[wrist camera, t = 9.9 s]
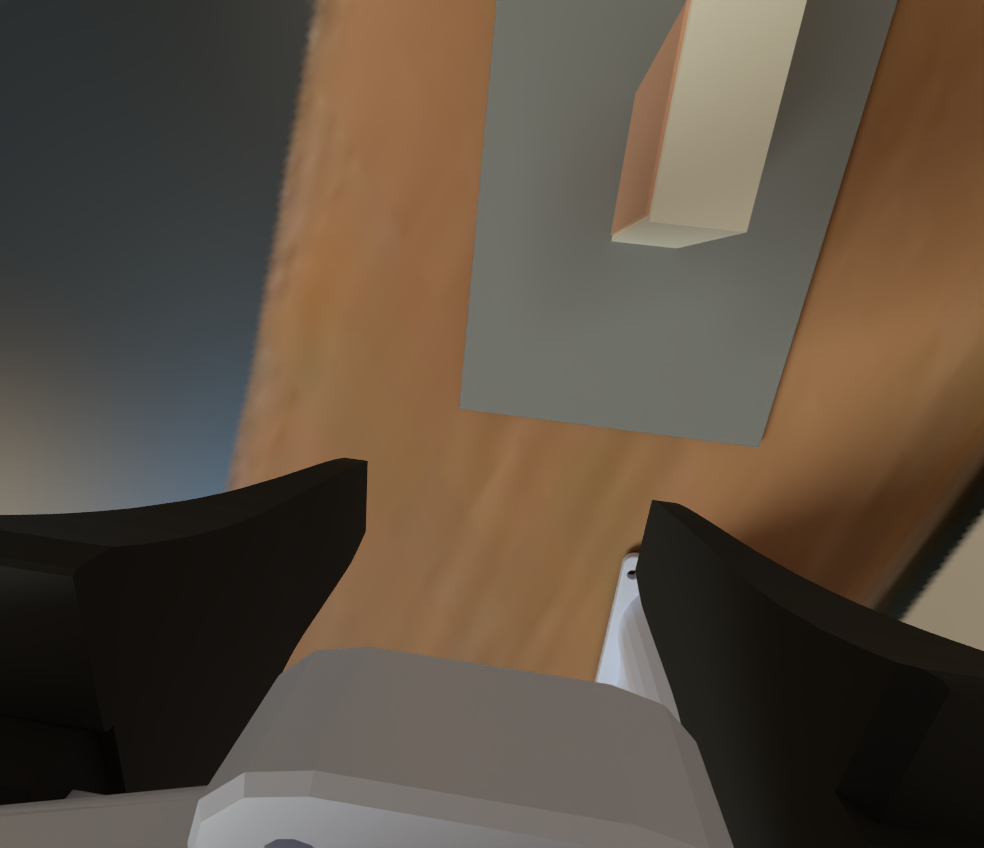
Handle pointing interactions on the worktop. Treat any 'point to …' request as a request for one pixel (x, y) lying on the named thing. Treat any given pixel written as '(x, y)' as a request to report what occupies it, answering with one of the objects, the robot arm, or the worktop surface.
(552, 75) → the mat
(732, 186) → the cream upright block
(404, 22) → the worktop surface
